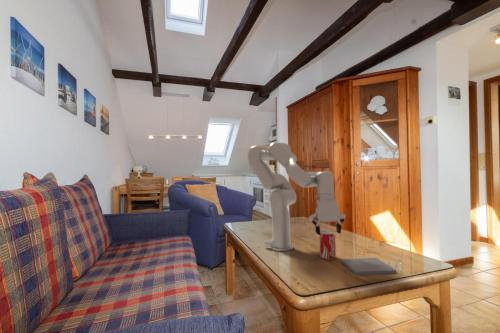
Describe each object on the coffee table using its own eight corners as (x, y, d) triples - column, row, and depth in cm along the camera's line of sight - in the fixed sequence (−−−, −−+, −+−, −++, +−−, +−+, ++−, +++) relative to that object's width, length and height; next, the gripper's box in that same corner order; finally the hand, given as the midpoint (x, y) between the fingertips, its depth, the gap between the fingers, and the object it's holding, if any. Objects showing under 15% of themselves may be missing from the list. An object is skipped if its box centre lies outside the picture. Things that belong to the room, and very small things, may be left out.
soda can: (327, 261, 110) (326, 234, 111) (316, 256, 117) (316, 231, 117) (339, 258, 114) (338, 232, 114) (327, 254, 120) (326, 229, 120)
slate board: (356, 274, 95) (356, 271, 95) (341, 261, 109) (341, 259, 109) (396, 273, 96) (396, 270, 96) (376, 260, 110) (376, 257, 110)
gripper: (310, 198, 112) (312, 236, 111) (347, 196, 112) (350, 234, 111) (306, 197, 119) (308, 233, 118) (340, 195, 120) (343, 230, 119)
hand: (328, 233), depth 115 cm, fingers open, 9 cm apart
